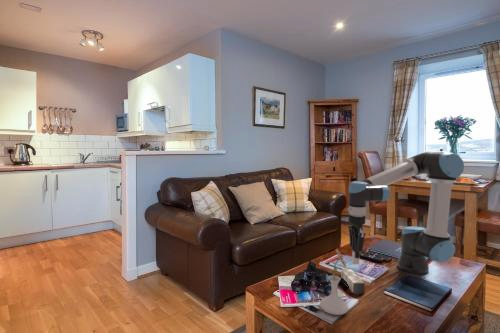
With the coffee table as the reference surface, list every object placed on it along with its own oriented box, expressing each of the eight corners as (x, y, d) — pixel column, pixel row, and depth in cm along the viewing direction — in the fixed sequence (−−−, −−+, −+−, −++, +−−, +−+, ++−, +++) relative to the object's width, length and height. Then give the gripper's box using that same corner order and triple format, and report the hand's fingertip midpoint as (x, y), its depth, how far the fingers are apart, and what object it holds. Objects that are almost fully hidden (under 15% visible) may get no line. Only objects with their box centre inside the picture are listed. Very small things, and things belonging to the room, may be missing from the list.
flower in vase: (344, 321, 112) (345, 259, 110) (316, 312, 118) (316, 253, 116) (352, 305, 123) (353, 248, 121) (325, 297, 129) (326, 243, 127)
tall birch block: (364, 293, 133) (350, 278, 148) (364, 283, 132) (350, 269, 147) (354, 294, 132) (341, 279, 147) (354, 283, 132) (341, 269, 147)
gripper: (343, 211, 140) (342, 258, 142) (355, 218, 127) (354, 270, 129) (358, 211, 141) (357, 258, 143) (371, 218, 128) (370, 269, 130)
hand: (355, 263), depth 136 cm, fingers closed
